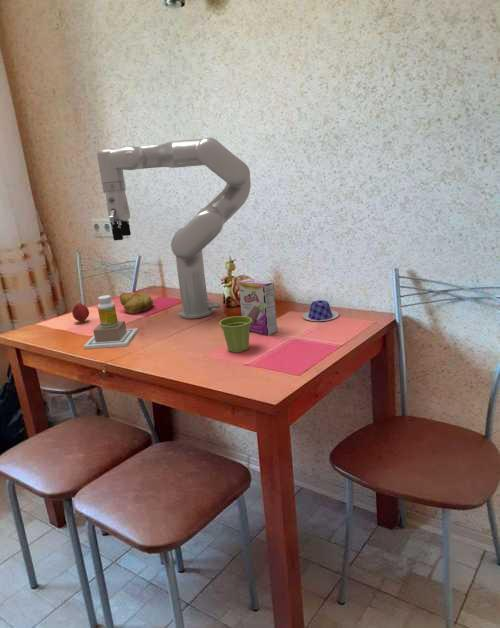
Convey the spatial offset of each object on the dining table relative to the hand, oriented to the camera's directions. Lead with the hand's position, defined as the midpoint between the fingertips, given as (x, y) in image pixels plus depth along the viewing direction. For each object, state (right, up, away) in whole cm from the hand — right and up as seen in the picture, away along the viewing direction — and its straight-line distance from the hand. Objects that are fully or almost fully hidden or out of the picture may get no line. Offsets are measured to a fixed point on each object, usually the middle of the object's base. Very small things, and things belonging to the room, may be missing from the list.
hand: (122, 237), depth 177 cm
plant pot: (+41, -37, -28) cm, 62 cm away
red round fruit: (-18, -30, +12) cm, 37 cm away
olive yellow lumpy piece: (+2, -25, +21) cm, 33 cm away
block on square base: (-1, -35, -10) cm, 36 cm away
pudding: (+68, -28, -6) cm, 74 cm away
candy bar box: (+48, -32, -15) cm, 59 cm away
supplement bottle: (-1, -30, -11) cm, 32 cm away
